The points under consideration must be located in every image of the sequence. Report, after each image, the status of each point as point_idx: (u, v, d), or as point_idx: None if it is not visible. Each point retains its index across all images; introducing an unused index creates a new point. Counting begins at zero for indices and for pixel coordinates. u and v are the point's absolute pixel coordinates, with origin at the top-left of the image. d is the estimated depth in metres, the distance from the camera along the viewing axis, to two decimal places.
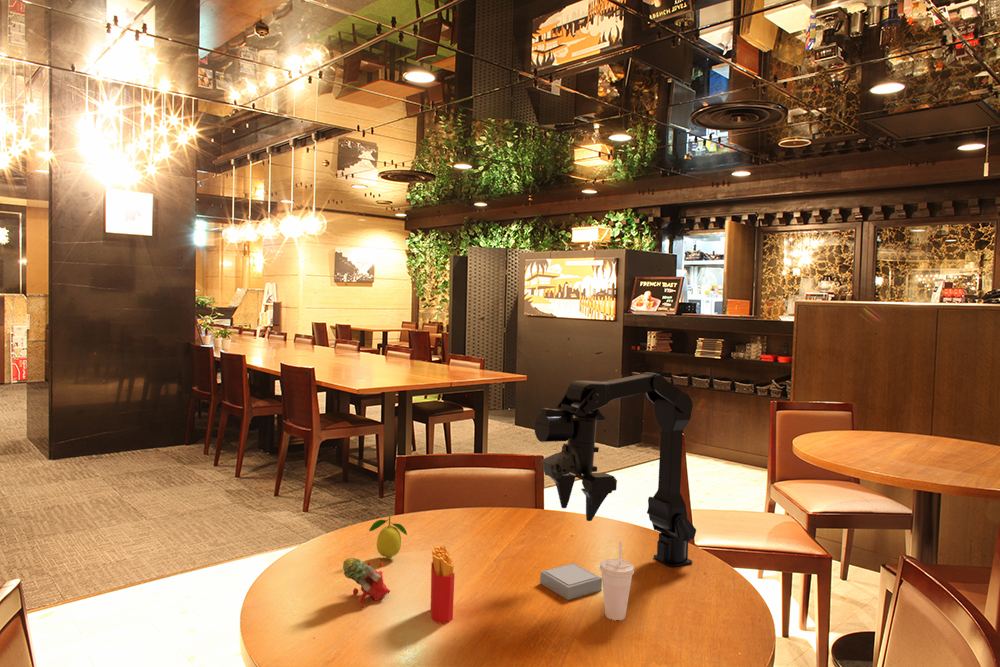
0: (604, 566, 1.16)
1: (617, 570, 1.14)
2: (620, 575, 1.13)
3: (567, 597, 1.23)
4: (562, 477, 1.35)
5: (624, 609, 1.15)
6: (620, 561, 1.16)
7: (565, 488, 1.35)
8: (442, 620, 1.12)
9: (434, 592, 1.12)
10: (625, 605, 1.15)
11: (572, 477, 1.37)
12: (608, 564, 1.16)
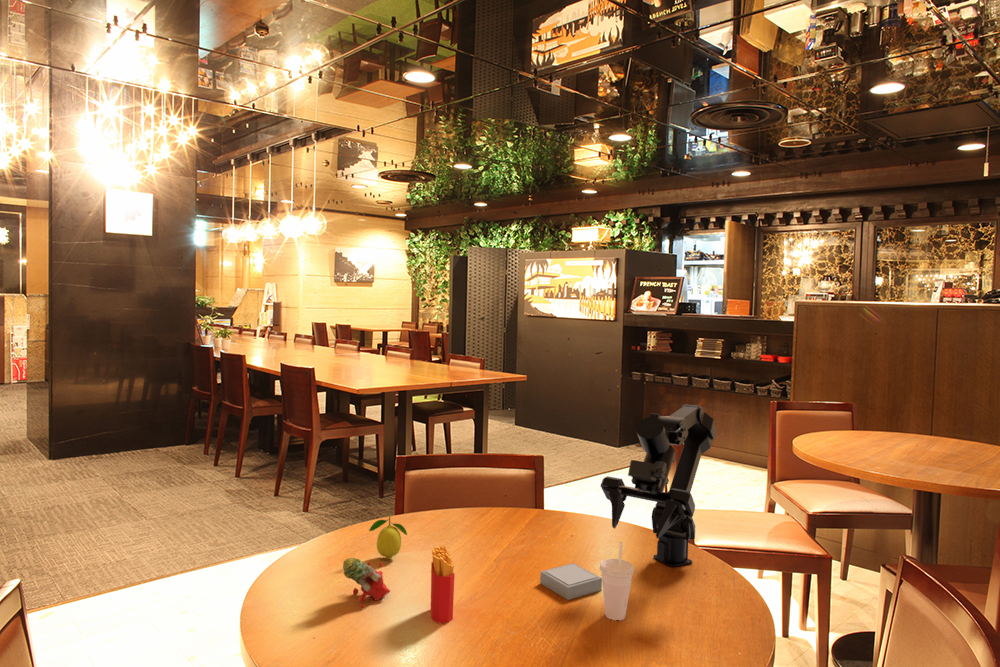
0: (604, 566, 1.16)
1: (617, 570, 1.14)
2: (620, 575, 1.13)
3: (567, 597, 1.23)
4: (620, 497, 1.30)
5: (624, 609, 1.15)
6: (620, 561, 1.16)
7: (619, 509, 1.29)
8: (442, 620, 1.12)
9: (434, 592, 1.12)
10: (625, 605, 1.15)
11: (623, 504, 1.31)
12: (608, 564, 1.16)
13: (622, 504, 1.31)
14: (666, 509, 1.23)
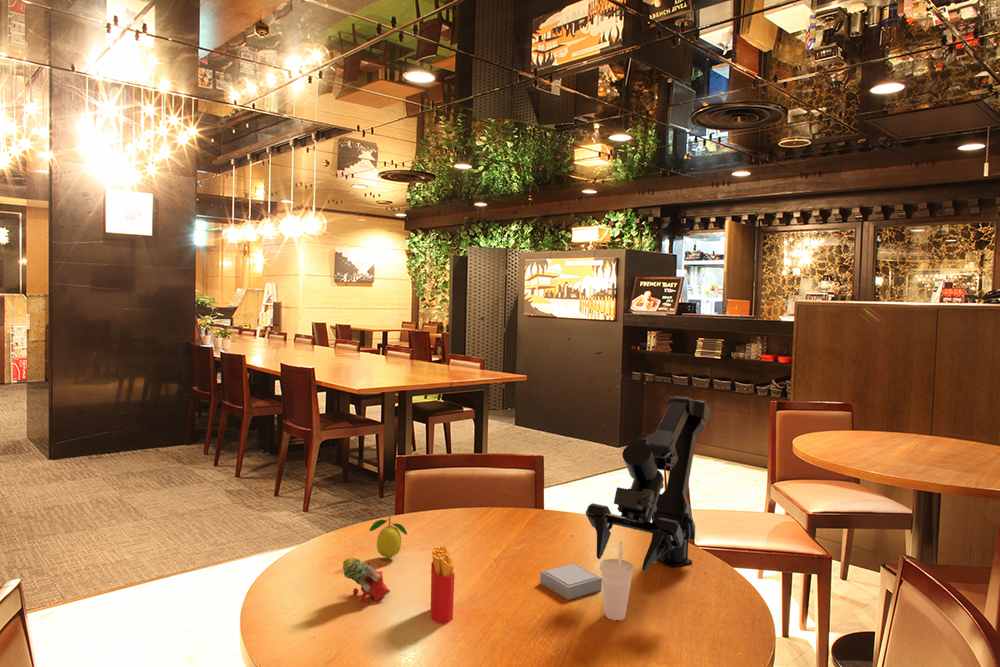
0: (604, 566, 1.16)
1: (617, 570, 1.14)
2: (620, 575, 1.13)
3: (567, 597, 1.23)
4: (605, 525, 1.24)
5: (624, 609, 1.15)
6: (620, 561, 1.16)
7: (604, 538, 1.23)
8: (442, 620, 1.12)
9: (434, 592, 1.12)
10: (625, 605, 1.15)
11: (609, 533, 1.25)
12: (608, 564, 1.16)
13: (608, 533, 1.25)
14: (653, 540, 1.17)
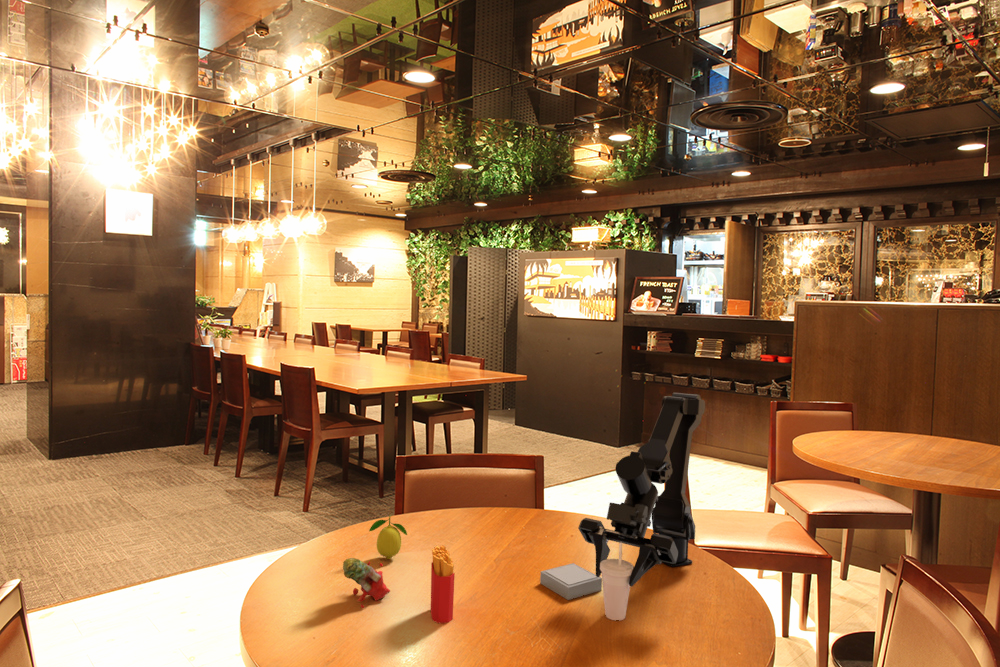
0: (604, 566, 1.16)
1: (617, 570, 1.14)
2: (620, 575, 1.13)
3: (567, 597, 1.23)
4: (605, 542, 1.21)
5: (624, 609, 1.15)
6: (620, 561, 1.16)
7: (603, 556, 1.20)
8: (442, 620, 1.12)
9: (434, 592, 1.12)
10: (625, 605, 1.15)
11: (608, 549, 1.22)
12: (608, 564, 1.16)
13: (607, 549, 1.22)
14: (640, 555, 1.15)
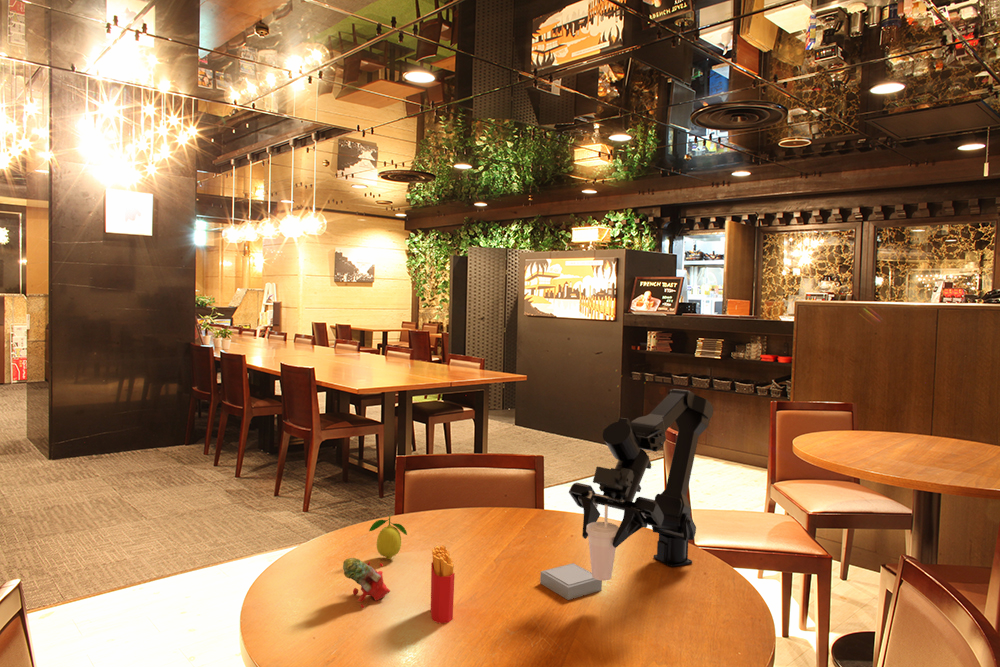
0: (590, 528, 1.19)
1: (601, 531, 1.17)
2: (604, 536, 1.16)
3: (567, 597, 1.23)
4: (593, 506, 1.24)
5: (609, 570, 1.18)
6: (606, 523, 1.19)
7: (591, 518, 1.23)
8: (442, 620, 1.12)
9: (434, 592, 1.12)
10: (610, 566, 1.18)
11: (598, 513, 1.25)
12: (594, 526, 1.20)
13: (596, 513, 1.25)
14: (625, 517, 1.18)
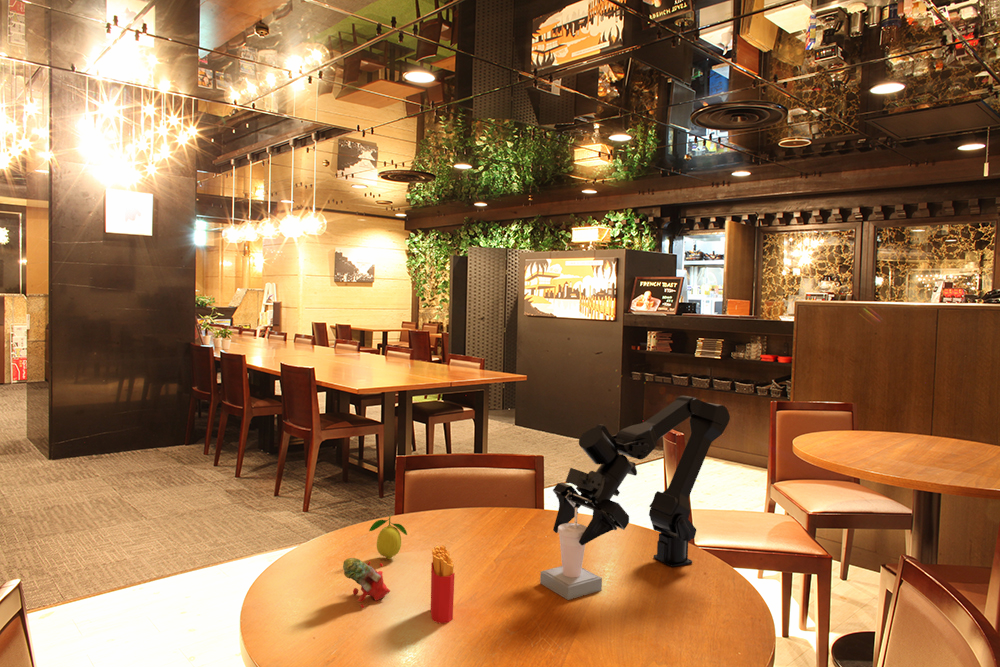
0: (560, 527, 1.29)
1: (568, 531, 1.26)
2: (569, 535, 1.26)
3: (567, 597, 1.23)
4: (569, 504, 1.34)
5: (576, 568, 1.27)
6: (575, 524, 1.28)
7: (565, 515, 1.33)
8: (442, 620, 1.12)
9: (434, 592, 1.12)
10: (577, 564, 1.27)
11: None
12: (565, 526, 1.29)
13: (573, 511, 1.34)
14: (593, 518, 1.25)
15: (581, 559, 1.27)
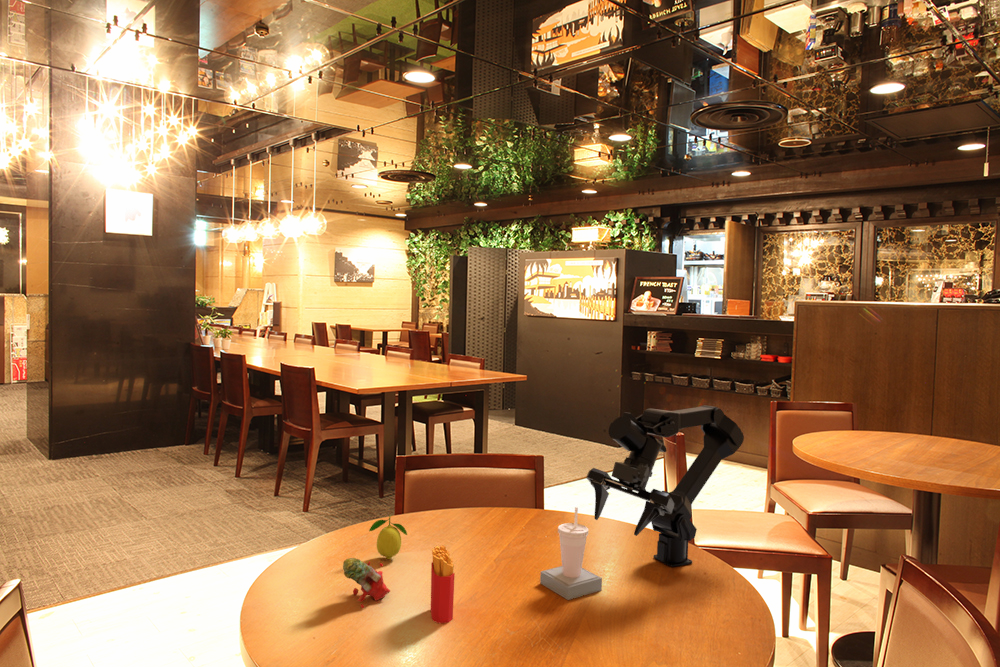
0: (560, 527, 1.29)
1: (568, 531, 1.26)
2: (569, 536, 1.26)
3: (567, 597, 1.23)
4: (604, 489, 1.36)
5: (576, 568, 1.27)
6: (575, 524, 1.28)
7: (602, 501, 1.36)
8: (442, 620, 1.12)
9: (434, 592, 1.12)
10: (577, 565, 1.27)
11: (607, 494, 1.38)
12: (565, 526, 1.29)
13: (606, 494, 1.38)
14: (645, 509, 1.29)
15: (581, 559, 1.27)
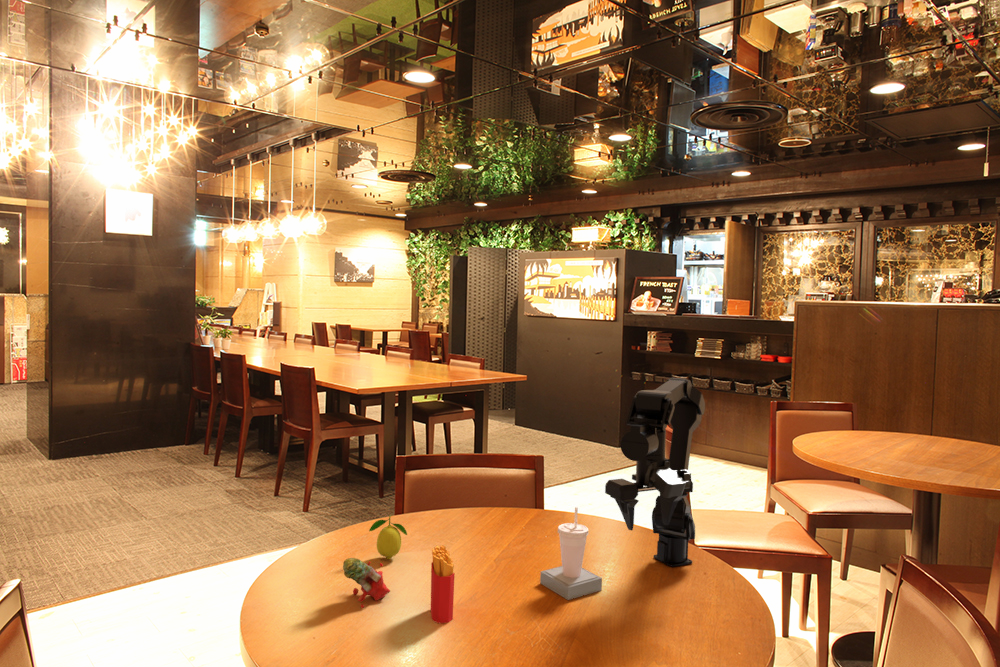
0: (560, 527, 1.29)
1: (568, 531, 1.26)
2: (569, 536, 1.26)
3: (567, 597, 1.23)
4: None
5: (576, 568, 1.27)
6: (575, 524, 1.28)
7: None
8: (442, 620, 1.12)
9: (434, 592, 1.12)
10: (577, 565, 1.27)
11: None
12: (565, 526, 1.29)
13: None
14: (674, 500, 1.29)
15: (581, 559, 1.27)
